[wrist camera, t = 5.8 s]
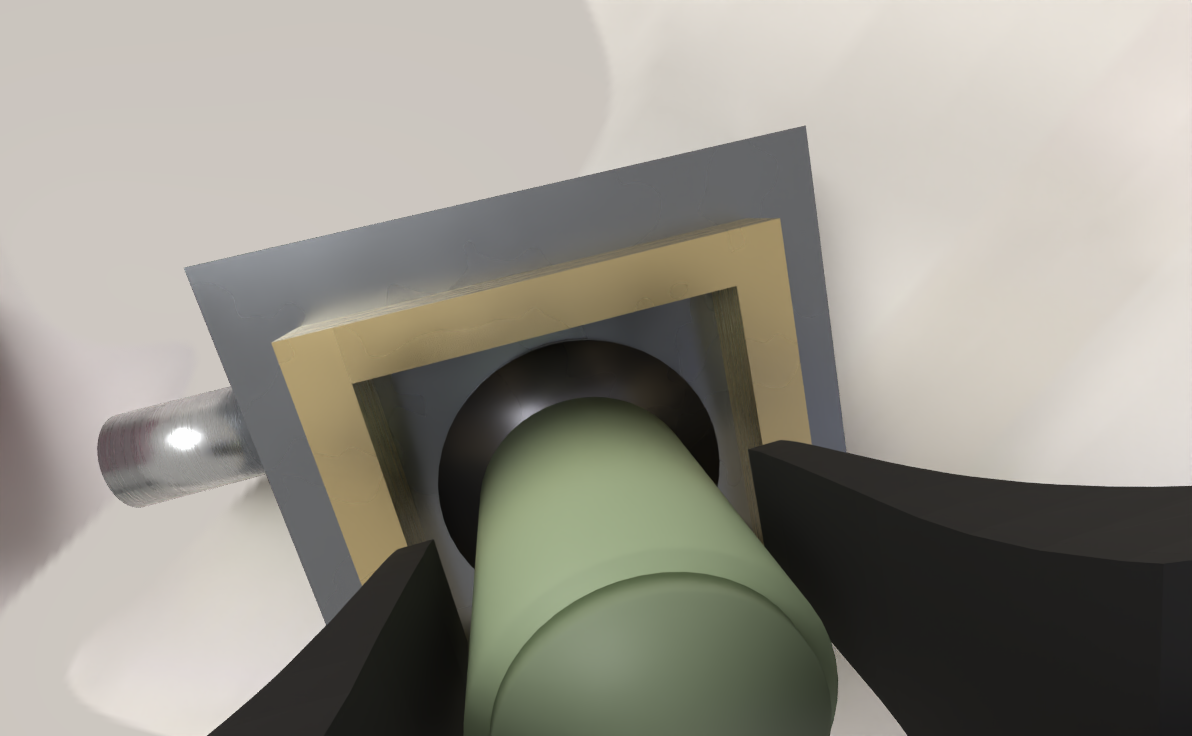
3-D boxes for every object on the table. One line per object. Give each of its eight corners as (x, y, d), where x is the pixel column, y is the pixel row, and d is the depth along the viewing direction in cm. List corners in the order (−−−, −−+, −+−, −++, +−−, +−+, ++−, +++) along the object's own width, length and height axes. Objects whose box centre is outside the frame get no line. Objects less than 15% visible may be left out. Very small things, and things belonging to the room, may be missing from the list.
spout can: (668, 369, 13) (902, 586, 5) (714, 559, 14) (958, 953, 7) (449, 435, 12) (374, 766, 5) (516, 624, 14) (536, 1116, 6)
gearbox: (745, 142, 15) (847, 112, 11) (808, 562, 18) (907, 668, 14) (106, 289, 14) (-68, 322, 9) (294, 722, 17) (228, 895, 13)
